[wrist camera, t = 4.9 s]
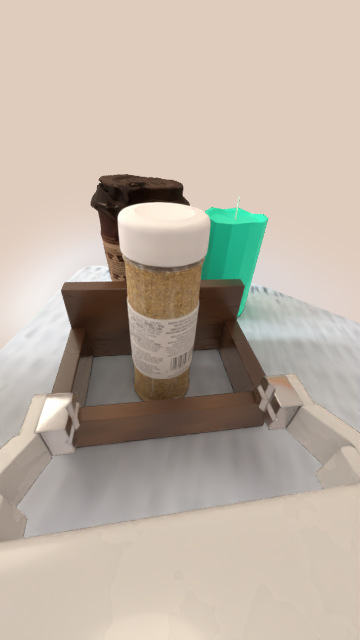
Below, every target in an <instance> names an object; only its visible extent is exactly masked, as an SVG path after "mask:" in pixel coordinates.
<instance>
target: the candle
mask: <svg viewBox="0 0 360 640" xmlns="http://www.w3.org/2000/svg"><path fill="white" fill-rule="evenodd" d="M239 201H240V197H239V198H238V203H237V208H231V209H219V208H213V207H211V208H210V209H208V210H206V211H205V213H206V214H207V215H208V216H209V218H210V234H209V243H208V250H207V254H206V256H205V261H204V262H203V265H202V272H201V280H213V279H241V281H242V282H243V284H244V285H245V288H244V292H243V296H242V300H241V304H240V308H239V312H238V316H240V314H241V313H242V311H243V310H244V307H245V303H246V299H247V296H248V292H249V288H250V284H251V280H252V277H253V273H254V270H255V266H256V262H257V258H258V255H259V251H260V247H261V244H262V240H263V236H264V233H265V228H266V225H267V221H268V217H266V216H265V215H264V214H251V213H249V212H247V211H245V210H243V209H240V208H238V206H239ZM238 316H237V317H238Z"/></svg>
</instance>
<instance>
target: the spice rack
mask: <svg viewBox="0 0 360 640" xmlns="http://www.w3.org/2000/svg"><path fill="white" fill-rule="evenodd" d="M244 288H245V285H244V284H243V282H242V281H241V279H213V280H201V281H200V290H199V308H198V316H197V324H196V332H195V340H194V347H193V350H202V349H218V350H219V353H220V355H221V358H222V361H223V363H224V366H225V368H226V371H227V374H228V376H229V379H230V382H231V384H232V387H233V390H234V392H235V393H227V394H216V395H206V396H195V397H185V398H174V399H164V400H153V401H143V402H132V403H121V404H111V405H100V406H90V407H85V401H86V395H87V390H88V384H89V378H90V372H91V366H92V361H93V357H94V356H110V355H125V354H132V349H131V339H130V327H129V316H128V305H127V297H128V293H127V281H113V282H65V283H64V285H63V287H62V289H61V292H62V296H63V300H64V303H65V307H66V310H67V314H68V317H69V321H70V325H71V331H70V335H69V338H68V341H67V344H66V348H65V351H64V354H63V358H62V361H61V364H60V367H59V371H58V374H57V377H56V380H55V384H54V387H53V390H52V394H55V393H70V392H76V394H77V396H78V398H77V402H79V403H80V405H81V423H80V426H79V427H78V429H77V430H76V432H77V435H78V440H77V445H76V447H85V446H93V445H102V444H110V443H118V442H127V441H135V440H144V439H152V438H161V437H169V436H178V435H186V434H195V433H203V432H211V431H220V430H228V429H237V428H245V427H254V426H262V425H263V424H264V422H265V420H264V418H263V413H264V411H263V410H261V409H260V408H259V407H258V405H257V402H256V398H255V391H256V388H257V387H258V386H259V385H261V384H260V382H259V381H260V379H261V378H262V377H263V376H266V375H265V373H264V372H263V370H262V368H261V366H260V364H259V362H258V360H257V358H256V356H255V354H254V353H253V351H252V349H251V347H250V345H249V343H248V341H247V339H246V337H245V336H244V334H243V332H242V330H241V328H240V326H239V324H238V322H237V316H238V312H239V308H240V304H241V300H242V296H243V292H244Z"/></svg>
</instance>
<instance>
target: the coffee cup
mask: <svg viewBox="0 0 360 640" xmlns="http://www.w3.org/2000/svg"><path fill="white" fill-rule="evenodd" d="M99 181H100V182H101V183H99V185H97V190H96V193H95V194H94V195H93V197H92V200H91V206H92V207H94V208H95V209H96V210H97V211H98V213H99V218H100V224H101V236H102V239H103V245H104V249H105V254H106V258H107V262H108V266H109V271H110V275H111V279H112V282H113V281H127V280H126V268H125V261H124V259H123V257H122V255H123V254H122V252H121V250H120V242H119V232H118V215H119V213H120V212H121V210H123V209H124V208H126V207H129V206H132V205H136V204H141V203H156V202H162V203H176V204H182V205H188V206H190V204H189V202H188V201H187V200H186V199H185V198H184V197H183V195H182V194H183V185H182V184H181V183H179V182H177V181H174V180H166V179H161V178H152V177H149V178H147V177H140V176H134V175H128V174H125V175H108V176H102V177H100V178H99Z"/></svg>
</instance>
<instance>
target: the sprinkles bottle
mask: <svg viewBox="0 0 360 640" xmlns="http://www.w3.org/2000/svg"><path fill="white" fill-rule="evenodd" d="M118 232H119V242H120V250H121V252H122V254H123V255H122V257H123V259H124V261H125V268H126V280H127V293H128V297H127V305H128V316H129V327H130V339H131V349H132V359H133V363H134V372H135V377H134V387H135V391H136V393H137V394H138V396H139V397H140V398H141V399H142V400H143V401H153V400H164V399H174V398H183V396H184V395H185V394H186V392H187V390H188V387H189V377H188V376H189V367H190V364H191V361H192V355H193V347H194V340H195V332H196V324H197V316H198V308H199V290H200V281H201V272H202V265H203V262H204V261H205V256H206V254H207V250H208V243H209V234H210V218H209V216H208V215H207V214H206V213H205V212H204V211H202V210H200V209H198V208H195V207H191V206H188V205H182V204H176V203H162V202H156V203H141V204H136V205H132V206H129V207H126V208H124V209H123V210H121V212H120V213H119V215H118Z"/></svg>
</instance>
